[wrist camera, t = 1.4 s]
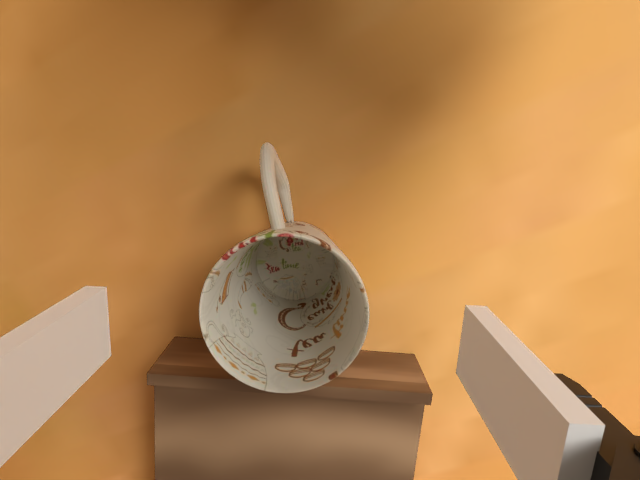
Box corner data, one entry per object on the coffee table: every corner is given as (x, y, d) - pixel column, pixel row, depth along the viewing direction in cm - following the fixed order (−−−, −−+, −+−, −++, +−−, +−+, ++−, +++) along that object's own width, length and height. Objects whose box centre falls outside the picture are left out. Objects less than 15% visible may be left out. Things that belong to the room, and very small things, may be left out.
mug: (252, 325, 31) (221, 407, 21) (210, 156, 28) (152, 161, 19) (362, 305, 31) (382, 378, 21) (330, 132, 28) (336, 123, 18)
